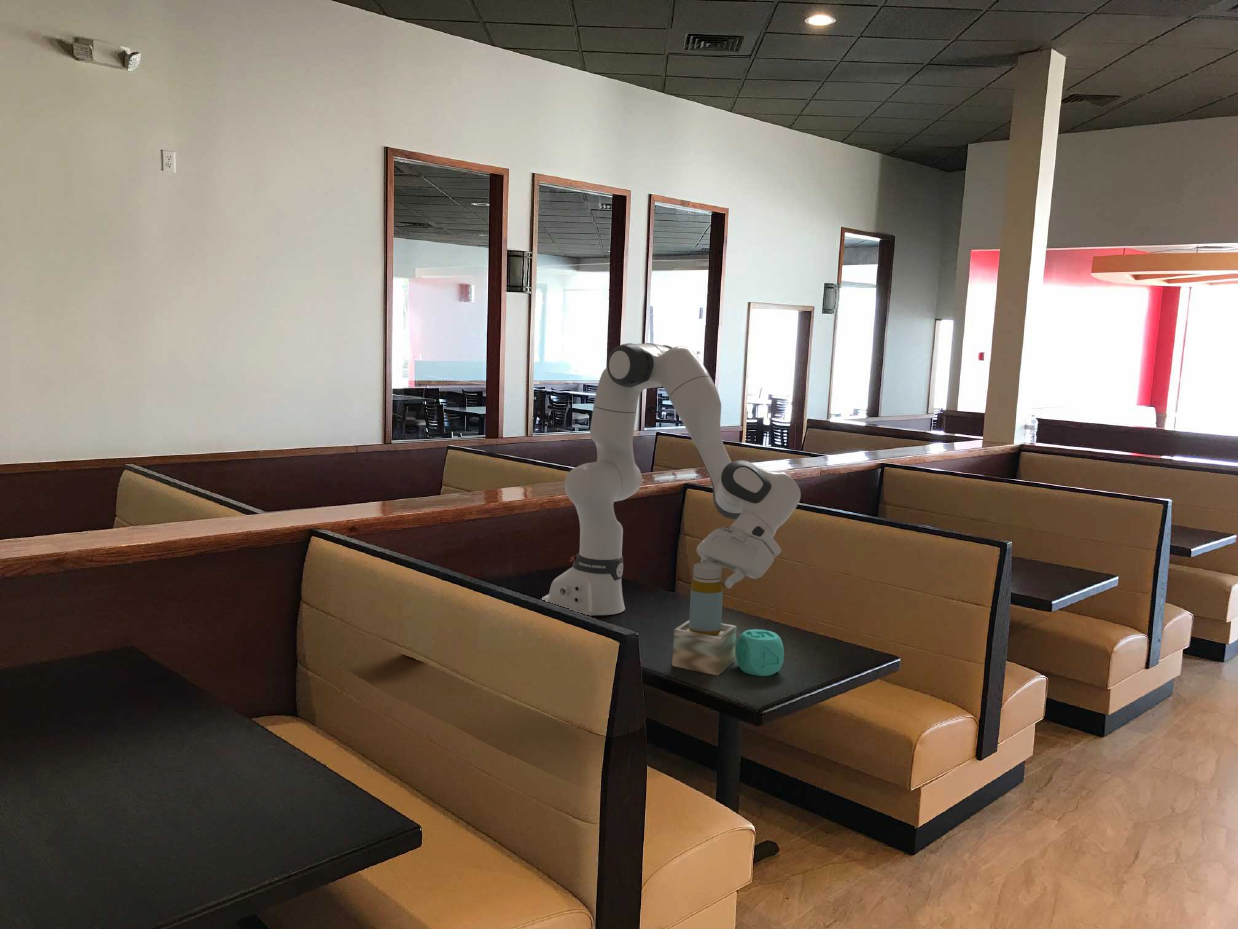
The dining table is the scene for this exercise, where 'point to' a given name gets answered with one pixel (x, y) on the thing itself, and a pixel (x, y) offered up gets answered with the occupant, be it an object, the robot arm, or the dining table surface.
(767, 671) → the decorative dice
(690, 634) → the open square box
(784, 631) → the dining table surface
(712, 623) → the bottle
